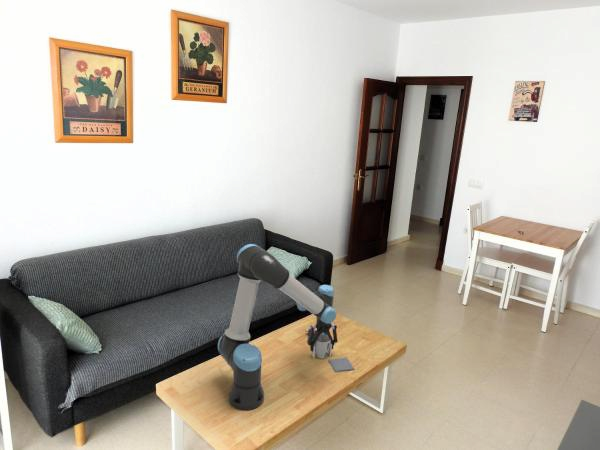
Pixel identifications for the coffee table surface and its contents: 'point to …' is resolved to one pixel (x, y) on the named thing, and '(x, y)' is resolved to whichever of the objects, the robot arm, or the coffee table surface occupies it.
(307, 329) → the figurine
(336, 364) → the coaster
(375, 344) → the coffee table surface
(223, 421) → the coffee table surface
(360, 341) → the coffee table surface
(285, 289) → the robot arm
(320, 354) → the cup
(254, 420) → the coffee table surface
